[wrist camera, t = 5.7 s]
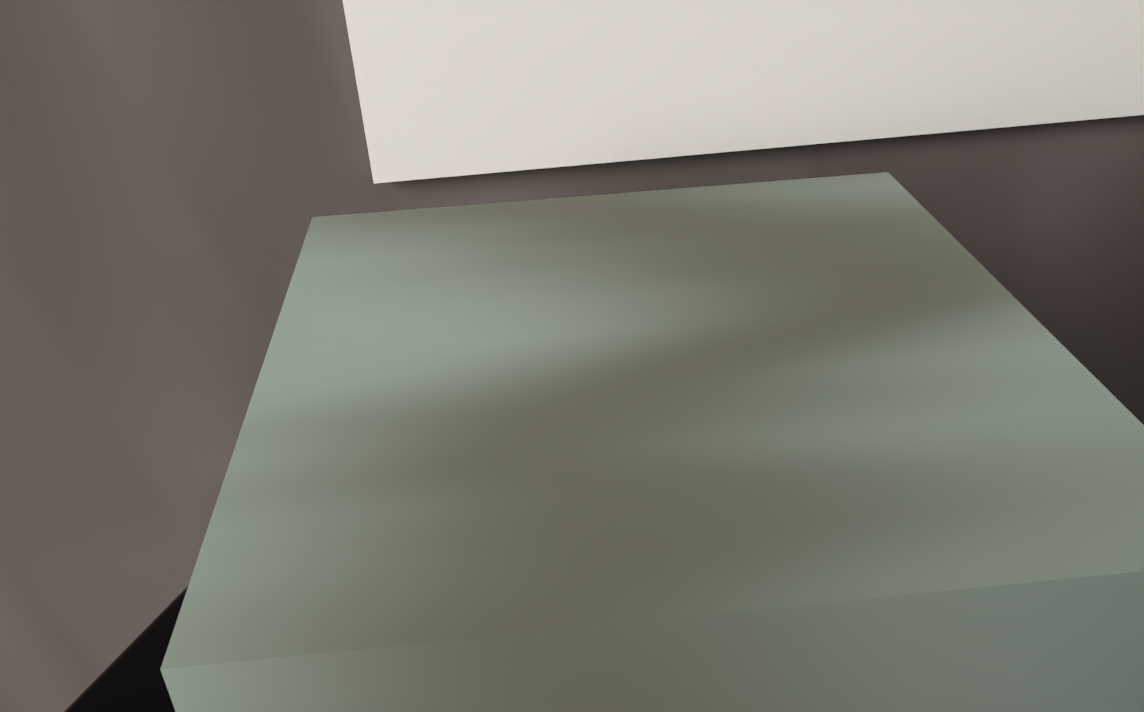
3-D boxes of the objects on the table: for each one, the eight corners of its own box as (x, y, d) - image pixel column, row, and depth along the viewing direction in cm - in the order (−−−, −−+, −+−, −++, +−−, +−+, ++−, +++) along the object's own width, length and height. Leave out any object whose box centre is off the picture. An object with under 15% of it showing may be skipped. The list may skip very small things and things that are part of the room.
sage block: (888, 172, 9) (1276, 558, 5) (839, 594, 11) (1060, 1095, 7) (312, 217, 9) (160, 670, 4) (393, 639, 11) (346, 1186, 7)
